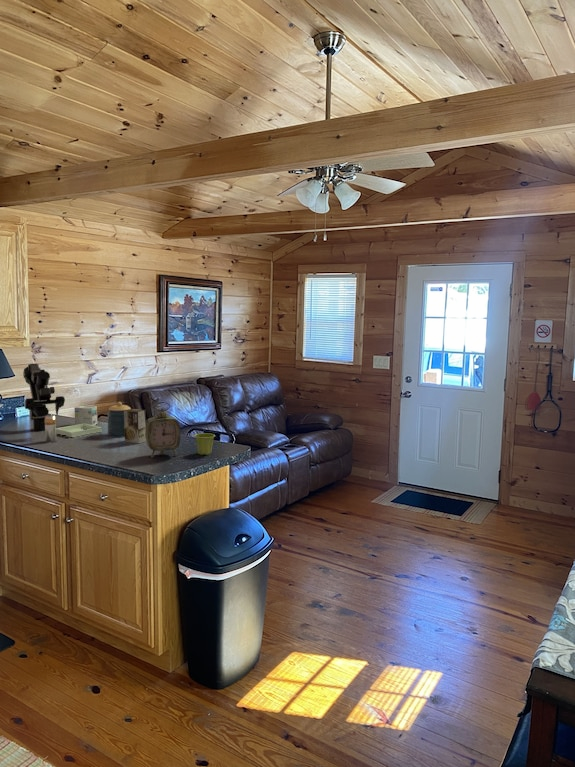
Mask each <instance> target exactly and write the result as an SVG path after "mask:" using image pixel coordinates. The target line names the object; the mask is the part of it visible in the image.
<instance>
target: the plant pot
mask: <svg viewBox="0 0 575 767" xmlns="http://www.w3.org/2000/svg"><path fill="white" fill-rule="evenodd" d="M215 437H216V435H215V434H214V433H205V432H202V433H197V434H194V438H195V441H196V446H197V447H196V448H197V454H199V455H200V456H202V455H206V456H208V455H211V454H212V450H213V444H214V440H215V439H214V438H215Z"/></svg>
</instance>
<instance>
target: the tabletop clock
mask: <svg viewBox="0 0 575 767" xmlns="http://www.w3.org/2000/svg"><path fill="white" fill-rule="evenodd" d="M160 404H166V405H167V406H168V408H165V409H164V407H161V408H160V409H158V408H157V406H158V405H160ZM170 407H171V405H170V403H168V402H166V401H158V402H156V403H155V405H154V410H155V411H157V412H158V413H156V416H153V417H149V418H148V419H146V431H145V434H146V441H145V442H146V443H147V446H148V447H149V449H150V450H152V454H150V458H152V459H153V458H154V457H155V455H154V454H155V451H156V452H157V451H158V452H159V451H160V452H159V454H160V455H161V456H162V455H164V451H169V450H172V452H173V456H175V457H176V456H178V452H177V451H176V450H175V449H177V448H179V445H180V443H181V427H180V422H179V420H178V419H177V418H175V417H174V416H171V415H170V416H169V415H168V413H167V412H166V411H168V410H169V409H170Z"/></svg>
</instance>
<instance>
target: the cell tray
mask: <svg viewBox="0 0 575 767" xmlns="http://www.w3.org/2000/svg"><path fill="white" fill-rule="evenodd" d="M81 428H82V429H81ZM83 428H87V430H83ZM102 430H103V428H102V426H97V425H89V424H78V425H75V424H73V425H68V426H60V427H56V435H58V434H61V435H60V436H62V435H66V436H70V437H75V438H77V437H76V436H80V437H82V436H81V435H85V434H90V433H96V432H101V433H102ZM96 434H97V433H96ZM90 435H91V434H90ZM66 436H65V437H66ZM85 436H86V435H85ZM70 437H69V438H70Z"/></svg>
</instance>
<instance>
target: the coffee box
mask: <svg viewBox="0 0 575 767" xmlns="http://www.w3.org/2000/svg"><path fill="white" fill-rule="evenodd" d="M146 411H147V410H146V409H137V408H131V409H129V410H125V411H124V425H125V436H124V442H126V443H133V444H141V443H145V442H147V441H146V434H145V431H146V422H147V417H146V416H147V413H146Z"/></svg>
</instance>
